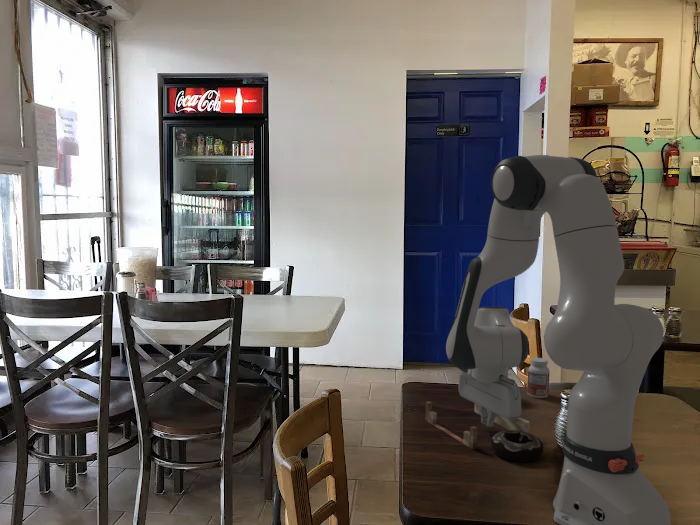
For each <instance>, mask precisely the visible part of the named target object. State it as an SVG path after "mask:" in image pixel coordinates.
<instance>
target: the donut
mask: <svg viewBox="0 0 700 525" xmlns="http://www.w3.org/2000/svg"><path fill="white" fill-rule="evenodd" d="M490 446H491V449H492V450H493V452H494V453H495V454H496V455H497V456H498V457H501V459H505V460H507V461H510V462H511V461H512V462H517V463H529V462H530V463H531V462H534V461H537V460H539V459H540V458H541V457H542V455H543V454H544V452H545V451H544V444H543V442H542V441H541V440H540V438H539V437H537V436H536V435H533V434H531V433H530V432H529V433H526V432H523V431H516V430H508V429H506V430H502V431H499V432H497V433H495V434H494V435H493V436H492V438H491V442H490Z"/></svg>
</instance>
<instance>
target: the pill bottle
mask: <svg viewBox="0 0 700 525" xmlns="http://www.w3.org/2000/svg"><path fill="white" fill-rule="evenodd" d="M530 361H531V363H530V364H531V365H530V366H528V370H527V386H526V387H527V388H526V390H527V392H526V393H527V395H528V396H529V397H531V398H535V399H545V398H547V397H548V396H549V393H550V392H549V391H550V390H549V389H550V369H549V367H548V362H549V361H548V360H547V359H546V358H542V357H532V358H531V360H530Z"/></svg>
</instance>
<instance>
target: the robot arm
mask: <svg viewBox="0 0 700 525" xmlns="http://www.w3.org/2000/svg"><path fill="white" fill-rule="evenodd" d="M490 184H491V191H492V194H493V197H494V199H493V203H492V205H491V206H492V207H491V210H490V215H489V220H488V226H487V236H486V241H485V244H484V247H483V248H482V251H481V252H480V254H478V256H477V257H475V258H473V259H471V261H470V262H469V265H468V267H467V270H466V273H465V276H464V280H463V283H462V287H461V291H460V296H459V299H458V302H457V305H456V310H455V315H454V319H453V321H452V324H451V326H450V329H449V332H448V335H447V339H446V343H445V352H446V358H447V360H448V361H449V362H450V363H451V364H452V365H453V366H454V367H455V368H457V369H459V371H460V372H459V374H458V393H459V396H461V398H463V399H465V400H467V401H470V402H472V403H474V404H475V403H476V404H478V409H479V412H480V415H479V416H480V423H481V424H483V425H484V426H487V427H489V428H490V427H491V428H492V427H494V426H495V422H494V419H495V418H496V416H497V415H500V416H502V417H504V418H506V419H509V420H511V419H516V418H519V417H521V416H522V396H521V392H520V386H519V385H518V384H517V381H516V380H515V379H513V378H510V377H509V369H510V368H517V367H518V368H519V367H520V366H521V365H523V363H524V362H525V361H527V360H526V359H527V358H528V356H529V338H528V336H527V334H526V333H525V332H524V331H523V330H522V329H520V328H519V327H518V326H517V327H516V326H515V325H514V323H513V322H512V321H511V318H510V312H509V309H508V308H507V307H504V306H480V305H481V301H482V297H483V295H484V293H485V292H486V291H488V289H490V288H491V287H494V286H495V285H497V284H499V283H501V282H504V281H508V280H510V279H513V278H515V277H518V276H520V275H522V274H523V273H524V272H526V271H527V270H529V269H530V268H531V266H533V265H534V263H535V261H536V258H537V255H538V251H539V243H540V233H541V231H540V230H541V221H542V218H543V216H544V214H546V213H548V215H549V217H550V220H551V225H552V226H551V227H552V232H553V238H554V245H555V250H556V255H557V262H558V268H559V278H560V279H559V281H560V283H559V294H558V300H557V305H556V309H555V313H554V314H553V316H552V318H551V319H550V321H549V322H548V324H547V325H546V326H545V330H544V335H543V343H544V344H543V345H544V349H545V352H546V353H547V355H548V357H549V358H550V360H551V361H552V363H554V364H555V365H557V366H558V367H560V368H562V369H565V370H571V371H578V372H580V371H581V372H582V375H581V376H580V378H579V380H578V381H577V382H576V384H575V385H574V386H572V388H571V390H570V392H569V395H568V404H567V419H566V420H567V421H566V422H567V423H566V431H565V432H564V434H563V441H562V454H563V455H564V457H563V465H562V469H561V474H560V479H559V484H558V488H557V491H556V494H555V496H554V498H553V501H552V507H553V508H554V514H553V521H554V522H556V523H557V524H559V525H672V522H671V521H672V520H671V518H672V517H671V513H670V511H671V510H670V507H669V504H668V502H667V501H666V500H665V499H664V498H663V496H662V495H661V493H659V492H658V490H656V488H655V487H654V486H653V485H652V483H651V482H650V481H649V480H648V478H647V477H646V476H645V474H643V472H642V471H641V470H640V465H639V463H641V462H644V461H645V459H644V457H645V454H641V455H640V454H639V455H637V454H636V451H635V448H634V444H633V442H632V435H633V425H634V414H635V413H634V412H635V405H636V400H637V398H638V393H639V390H640V387H641V384H642V381H643V379H644V376H645V373H646V371H647V368H648V366H649V363H650V361H651V360H652V357H653V356H654V355H655V353H656V352H658V350H659V349H660V347H661V345H662V344H663V342H664V337H665V336H664V335H665V334H664V333H665V332H664V327H663V326H664V325H663V323H662V322H661V320H660V318H659V317H658V316H657V314H656V313H655V312H653V311H652V310H650V309H648V308H647V307H643V306H639V305H634V304H628V303H619V304H615V298H616V289H617V288H616V287H617V284H618V282H619V280H620V278H621V277H622V275H623V274H624V271H625V261H624V257H623V256H624V255H623V252H622V245H621V240H620V236H619V231H618V227H617V226H618V225H617V221H616V217H615V213H614V210H613V207H612V204H611V202H610V198H609V195H608V193H607V191H606V188H605V186H604V184H603V182H602V181H601V180H600V179H599V178H598V176H597V173H596V169H595V168H594V166H593V165H592V164H591V163H590V162H588V161H586V160H584V159H582V158H578V157H575V156H574V157H573V156H568V157H564V156H558V155H557V156H556V155H548V154H536V155H526V156H523V155H515V156H512V157H508V158H505V159H503V160H501V161H500V162H498V164H497V165H496V166H495V168H494V171H493V173H492V176H491V183H490ZM487 409H488V411H487ZM488 414H489V416H488Z"/></svg>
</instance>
